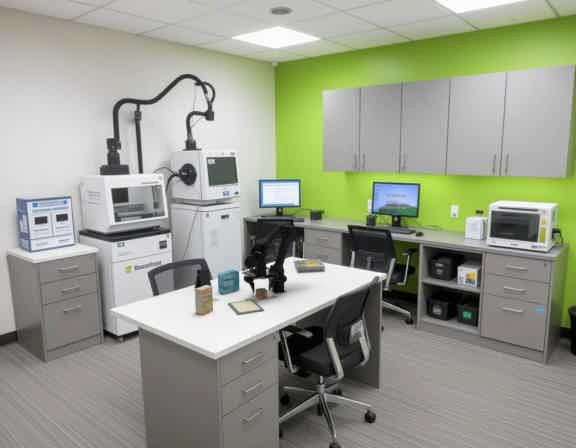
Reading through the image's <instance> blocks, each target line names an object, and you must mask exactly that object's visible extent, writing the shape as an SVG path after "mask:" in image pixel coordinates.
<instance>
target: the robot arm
mask: <svg viewBox="0 0 576 448" xmlns="http://www.w3.org/2000/svg"><path fill="white" fill-rule="evenodd" d="M296 232H297V229H296V228H295V227H294V226H292V225H284V224H275V226H274V227H273V228H272V229H271V230H270V231H269V232H268V233H267V234H266V235H264V237H263V238H260V239H258V240H256V241H255V242H254V244H253V246H252V248H251V251H250V253H249V254H248V255H247V256H246V258H245V259H244V266H245V268H246V269H247V270H249V273H250V274H247V275H246V274H245V275H243V281H244V282H246V283H247V284H249V286H250V288H251V291H252V294H255V293H256V287H255V282H254V281H255V280H262V279H263V280H264V279H268V291H269V292H273V293H274V294H279V293H280V294H282V293H286V290H285V283H286V282H287V280H288V278H287V277H288V276H286V275H285V267H284V264H285V260H286V256H287V254H288V249H289V246H290V243H291V241H292V240H293V239H294V238H295V236H296ZM279 236H280V239H281V240H280V244H279V246H278V247H279V248H278V250H277V254H276V258H275V261H274V263H273V264H271V265H269V269H268V267H267V257H268V256H270V254H269V253H268V250H270V248H271V244H272V243H273V242H274V241H275V240H276V239H277V238H278V237H279ZM267 269H268V274H267ZM252 274H253V275H252Z"/></svg>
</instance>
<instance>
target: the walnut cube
mask: <svg viewBox="0 0 576 448" xmlns="http://www.w3.org/2000/svg"><path fill="white" fill-rule="evenodd" d="M255 298H256V299H257V300H258V301H261V300H267V299H268V289H266V288H265V287H259V288H255Z"/></svg>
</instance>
